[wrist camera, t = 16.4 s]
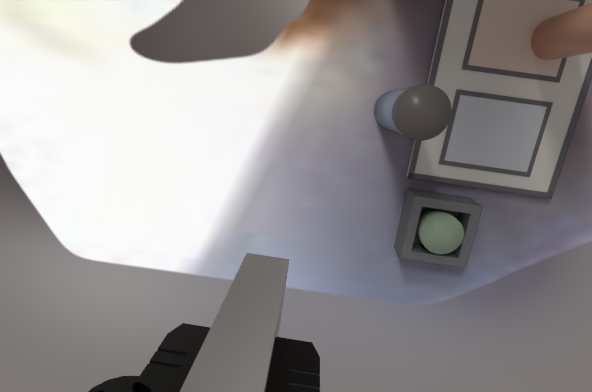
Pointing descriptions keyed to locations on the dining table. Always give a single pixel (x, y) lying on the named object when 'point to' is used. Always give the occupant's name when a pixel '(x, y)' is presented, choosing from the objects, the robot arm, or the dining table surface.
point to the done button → (439, 231)
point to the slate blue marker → (414, 111)
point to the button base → (422, 200)
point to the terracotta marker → (564, 34)
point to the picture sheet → (502, 99)
